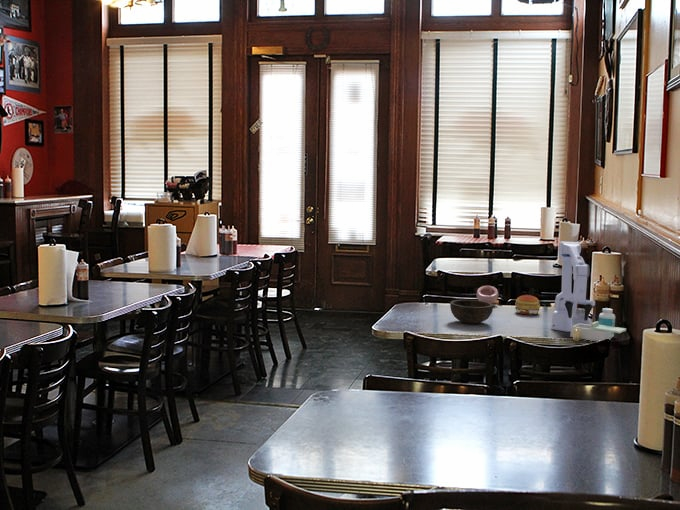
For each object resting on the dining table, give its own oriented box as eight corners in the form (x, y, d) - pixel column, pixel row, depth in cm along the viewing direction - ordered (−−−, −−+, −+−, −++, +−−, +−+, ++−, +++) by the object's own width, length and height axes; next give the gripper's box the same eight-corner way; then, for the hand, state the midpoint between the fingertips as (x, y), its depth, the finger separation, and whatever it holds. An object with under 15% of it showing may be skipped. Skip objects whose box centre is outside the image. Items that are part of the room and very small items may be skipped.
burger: (529, 310, 468) (530, 292, 467) (545, 315, 456) (546, 296, 455) (509, 311, 462) (510, 293, 461) (525, 316, 450) (526, 298, 449)
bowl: (446, 318, 439) (447, 299, 438) (488, 319, 439) (489, 300, 438) (452, 326, 417) (453, 306, 416) (496, 328, 418) (497, 308, 416)
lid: (589, 328, 394) (590, 323, 394) (596, 325, 402) (597, 320, 401) (619, 333, 386) (619, 328, 386) (626, 330, 393) (626, 325, 393)
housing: (570, 337, 400) (571, 326, 400) (578, 334, 408) (578, 323, 407) (603, 343, 391) (604, 331, 390) (610, 339, 399) (611, 328, 398)
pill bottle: (614, 338, 402) (616, 310, 400) (598, 337, 403) (600, 309, 402) (612, 335, 409) (614, 308, 407) (596, 334, 411) (598, 307, 409)
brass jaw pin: (571, 340, 394) (572, 329, 393) (574, 339, 396) (575, 328, 396) (578, 341, 392) (578, 330, 392) (580, 340, 395) (581, 329, 394)
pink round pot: (475, 305, 477) (476, 285, 475) (476, 302, 488) (477, 282, 487) (497, 307, 474) (498, 287, 473) (497, 303, 486) (498, 284, 484)
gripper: (561, 289, 392) (559, 317, 394) (592, 293, 384) (590, 322, 386) (567, 287, 398) (565, 315, 400) (597, 291, 390) (595, 320, 391)
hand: (577, 319), depth 393 cm, fingers open, 7 cm apart
